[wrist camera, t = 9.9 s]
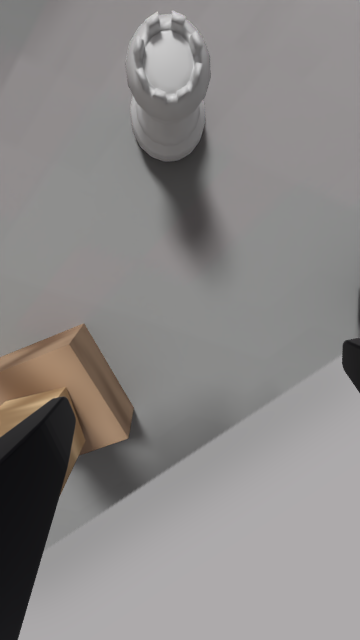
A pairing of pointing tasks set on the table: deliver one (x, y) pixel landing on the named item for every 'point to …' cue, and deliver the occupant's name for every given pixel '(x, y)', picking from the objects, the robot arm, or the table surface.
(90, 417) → the light brown block
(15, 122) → the table surface
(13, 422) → the oak pillar
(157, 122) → the rook chess piece
